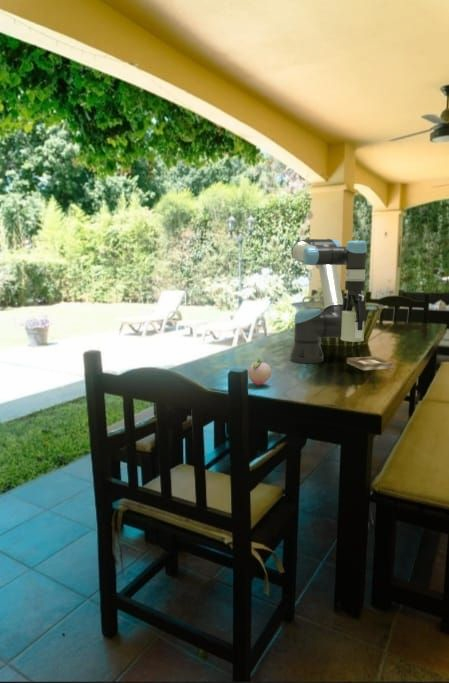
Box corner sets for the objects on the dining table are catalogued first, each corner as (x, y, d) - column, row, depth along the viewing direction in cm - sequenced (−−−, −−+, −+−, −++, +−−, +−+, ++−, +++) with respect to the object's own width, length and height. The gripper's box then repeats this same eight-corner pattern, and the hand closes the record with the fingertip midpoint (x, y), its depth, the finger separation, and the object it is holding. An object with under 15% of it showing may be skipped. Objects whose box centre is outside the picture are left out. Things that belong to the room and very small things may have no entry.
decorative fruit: (269, 389, 161) (270, 362, 159) (247, 388, 162) (247, 361, 160) (271, 383, 170) (272, 356, 168) (250, 382, 171) (250, 356, 170)
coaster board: (362, 370, 189) (363, 364, 189) (346, 363, 203) (346, 357, 202) (392, 368, 192) (393, 362, 192) (374, 361, 206) (375, 356, 205)
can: (351, 342, 179) (352, 312, 177) (335, 338, 187) (336, 309, 185) (368, 340, 183) (370, 310, 181) (352, 337, 191) (354, 308, 189)
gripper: (334, 279, 190) (331, 332, 194) (360, 281, 169) (357, 341, 173) (350, 279, 192) (347, 331, 196) (378, 281, 171) (375, 340, 175)
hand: (352, 336), depth 185 cm, fingers closed on can, 9 cm apart
